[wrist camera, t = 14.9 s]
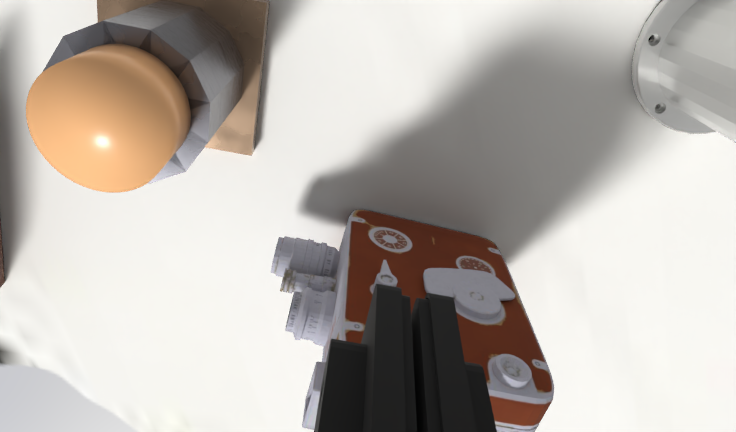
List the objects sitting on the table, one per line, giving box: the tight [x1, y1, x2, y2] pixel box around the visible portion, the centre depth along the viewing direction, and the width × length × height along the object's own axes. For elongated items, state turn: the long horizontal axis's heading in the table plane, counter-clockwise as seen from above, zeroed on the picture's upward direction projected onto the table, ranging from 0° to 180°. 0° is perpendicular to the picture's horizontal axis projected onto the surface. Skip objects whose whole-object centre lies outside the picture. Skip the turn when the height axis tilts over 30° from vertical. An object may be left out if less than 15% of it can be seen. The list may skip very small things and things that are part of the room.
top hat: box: [43, 0, 270, 183], centre depth 37 cm, size 12×12×11 cm
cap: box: [26, 44, 191, 192], centre depth 32 cm, size 7×7×7 cm
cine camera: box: [271, 210, 554, 432], centre depth 41 cm, size 9×19×20 cm, turn 75°
